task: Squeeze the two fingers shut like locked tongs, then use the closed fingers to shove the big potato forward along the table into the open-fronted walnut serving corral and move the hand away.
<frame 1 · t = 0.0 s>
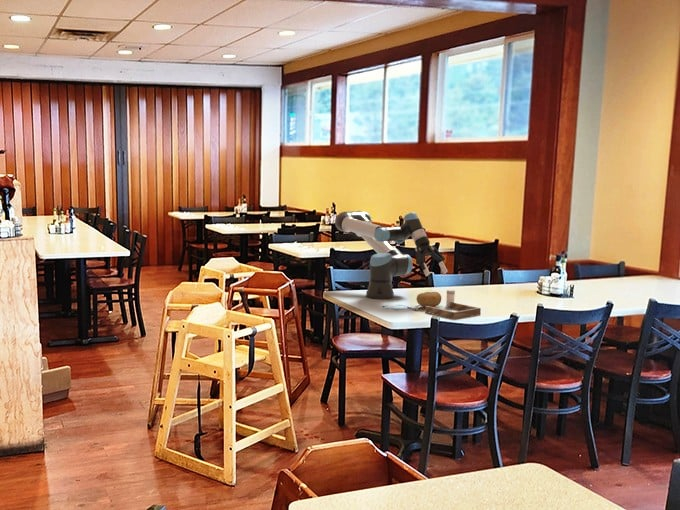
hand: (436, 274, 370), 15 cm above the table, tool tilted 35°, fingers open, 13 cm apart
corral: (452, 313, 346), on the table
potato: (428, 308, 358), on the table
pepper shaker: (450, 306, 363), on the table
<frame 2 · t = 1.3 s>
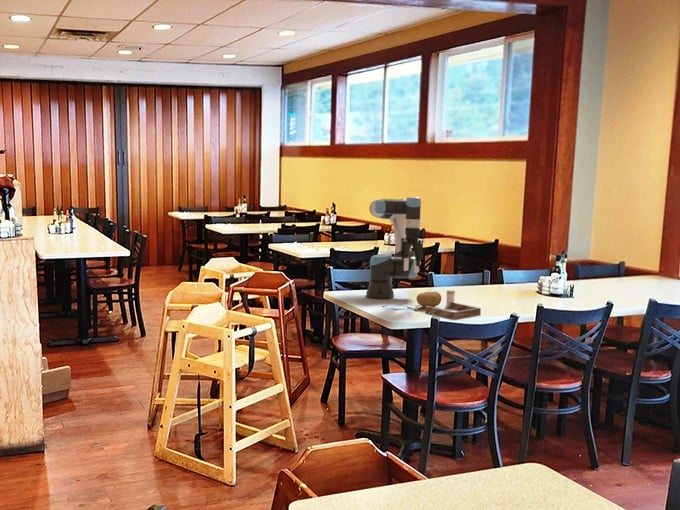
hand: (411, 271, 366), 17 cm above the table, tool pointing down, fingers open, 7 cm apart
nothing on the table moved.
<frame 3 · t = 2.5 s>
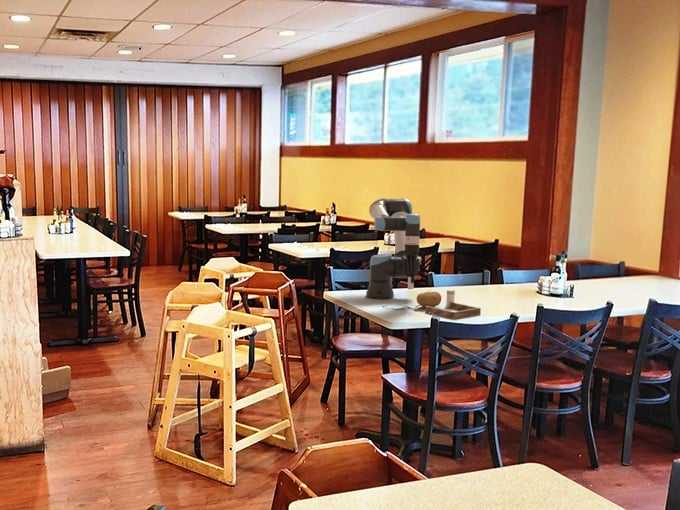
hand: (410, 289, 367), 8 cm above the table, tool pointing down, fingers closed
nothing on the table moved.
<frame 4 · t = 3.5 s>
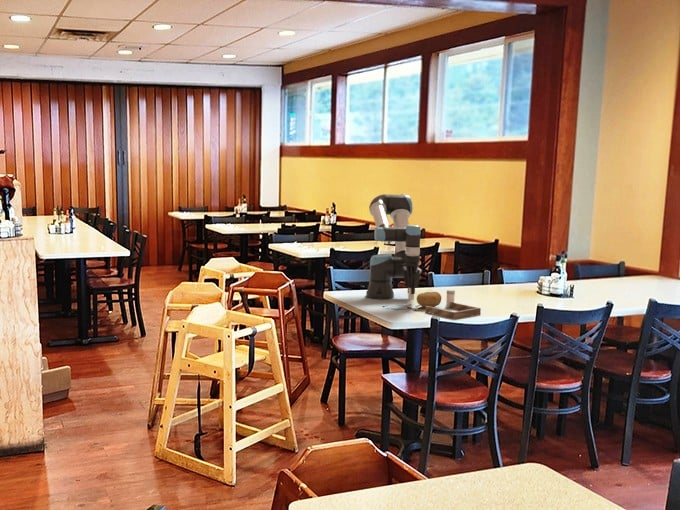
hand: (410, 299, 367), 2 cm above the table, tool pointing down, fingers closed
nothing on the table moved.
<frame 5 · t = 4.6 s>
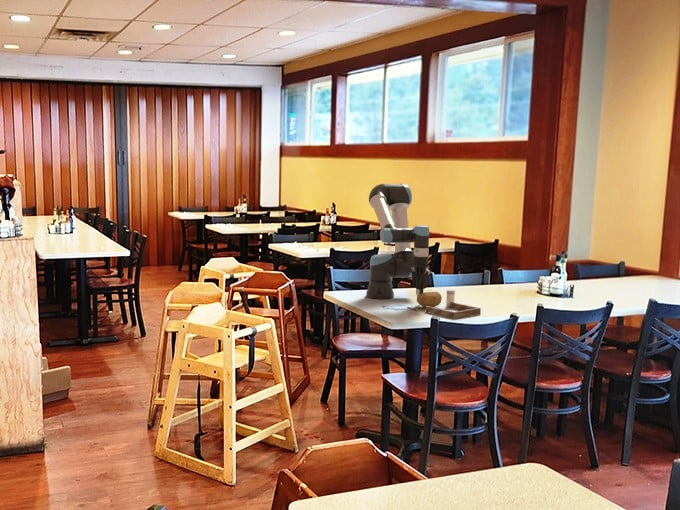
hand: (419, 301, 362), 2 cm above the table, tool pointing down, fingers closed
potato: (428, 308, 358), on the table, touching gripper
everything else where it was.
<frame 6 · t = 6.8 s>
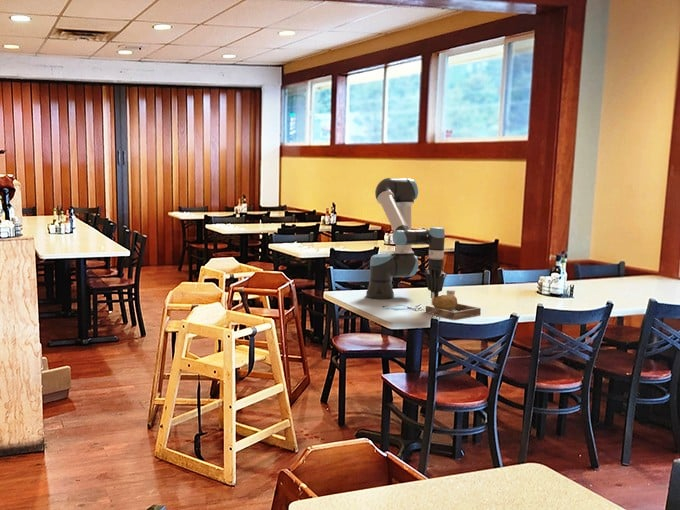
hand: (434, 304, 355), 2 cm above the table, tool pointing down, fingers closed
potato: (444, 311, 351), on the table, touching gripper
everything else where it was.
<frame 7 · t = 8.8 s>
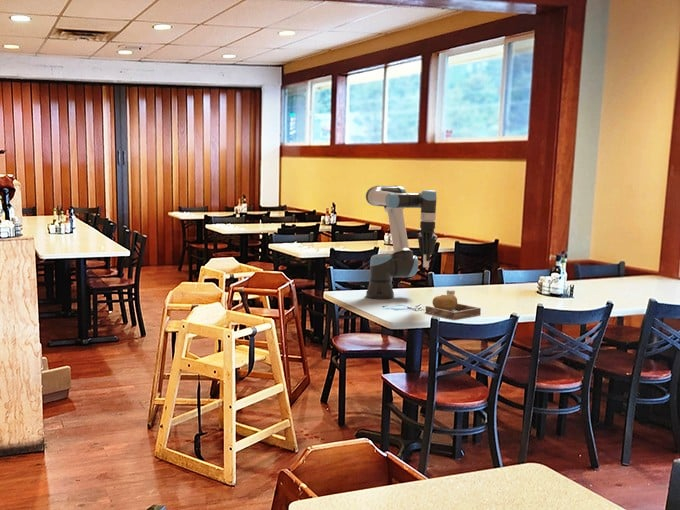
hand: (425, 267, 360), 20 cm above the table, tool pointing down, fingers closed
potato: (444, 311, 350), on the table
everything else where it was.
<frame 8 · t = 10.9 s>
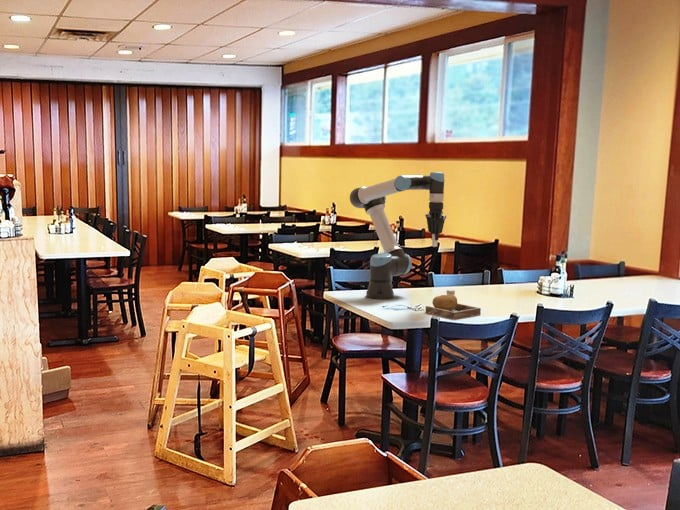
hand: (434, 246, 372), 29 cm above the table, tool pointing down, fingers closed
nothing on the table moved.
at the end: potato inside the target area on the corral (5.6 cm from its centre), point 0.0 cm above the corral's base; potato moved 10.4 cm from its start; pepper shaker moved 0.0 cm from its start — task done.
